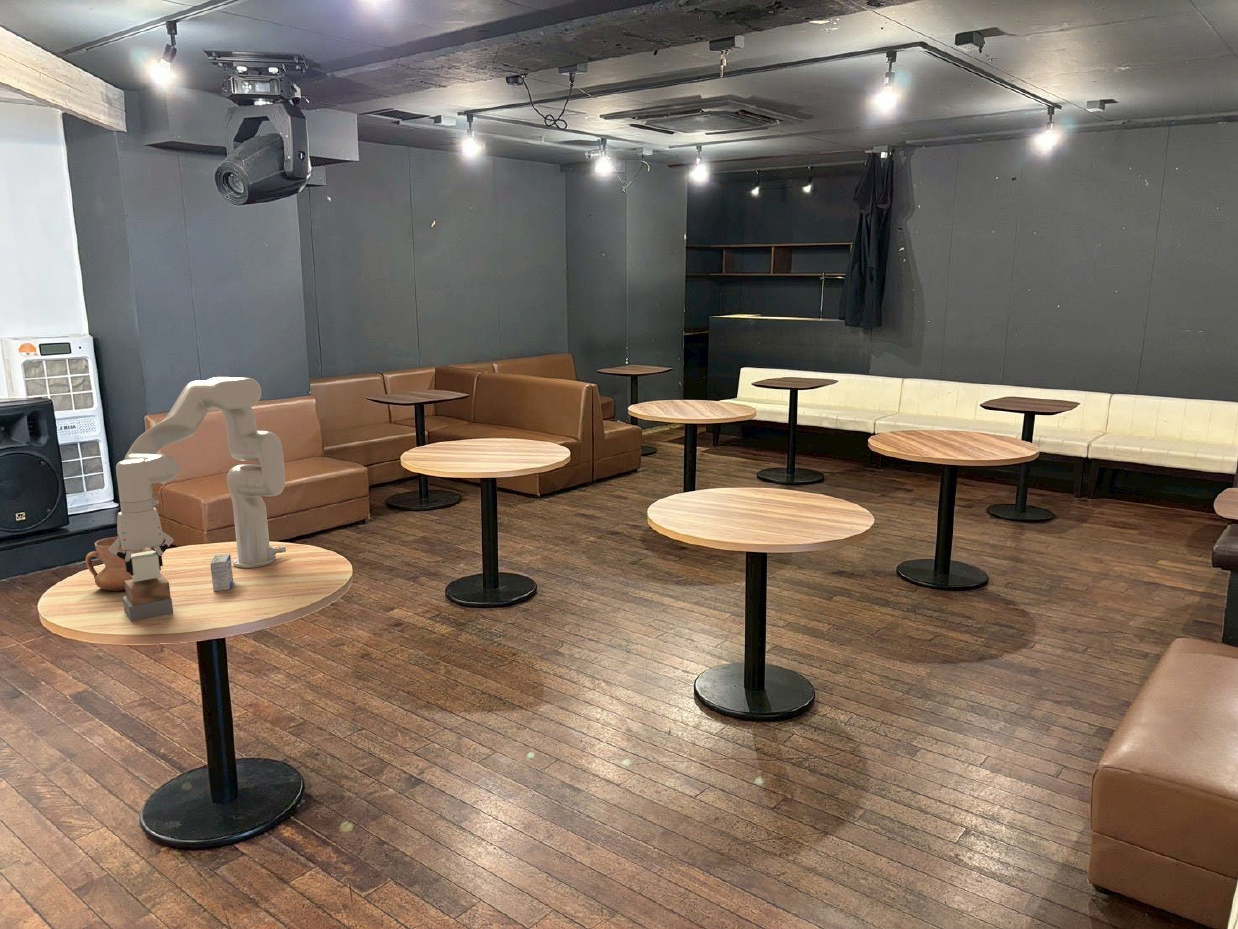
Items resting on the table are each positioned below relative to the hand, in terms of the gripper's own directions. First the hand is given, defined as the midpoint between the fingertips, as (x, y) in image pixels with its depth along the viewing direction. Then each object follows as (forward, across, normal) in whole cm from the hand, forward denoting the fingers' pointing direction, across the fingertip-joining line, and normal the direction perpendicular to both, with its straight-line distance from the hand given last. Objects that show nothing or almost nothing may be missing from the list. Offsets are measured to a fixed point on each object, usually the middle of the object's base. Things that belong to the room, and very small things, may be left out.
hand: (145, 571), depth 231 cm
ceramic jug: (+12, +2, -28) cm, 30 cm away
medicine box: (+12, -21, -9) cm, 26 cm away
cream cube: (+2, 0, 0) cm, 2 cm away
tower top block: (+7, 0, 0) cm, 7 cm away
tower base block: (+12, 0, 0) cm, 12 cm away
